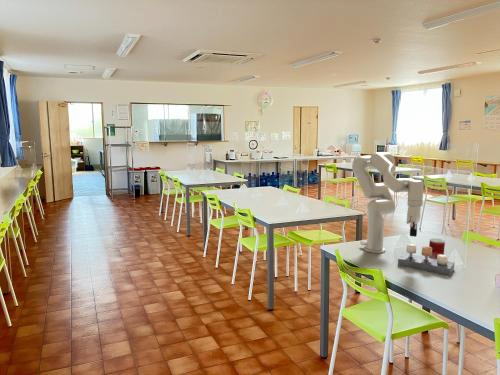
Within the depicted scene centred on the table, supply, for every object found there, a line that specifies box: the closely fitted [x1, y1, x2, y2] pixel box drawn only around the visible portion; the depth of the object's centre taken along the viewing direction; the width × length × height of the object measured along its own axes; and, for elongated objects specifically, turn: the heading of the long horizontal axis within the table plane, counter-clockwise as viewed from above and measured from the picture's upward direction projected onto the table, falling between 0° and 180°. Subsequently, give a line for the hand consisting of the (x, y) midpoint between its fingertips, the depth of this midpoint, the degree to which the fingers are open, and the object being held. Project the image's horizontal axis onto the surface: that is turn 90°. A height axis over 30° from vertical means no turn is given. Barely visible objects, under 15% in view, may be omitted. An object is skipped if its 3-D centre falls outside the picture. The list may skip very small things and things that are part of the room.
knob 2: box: [437, 254, 449, 265], centre depth 218 cm, size 5×5×8 cm
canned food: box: [428, 238, 446, 259], centre depth 238 cm, size 8×8×11 cm
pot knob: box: [421, 245, 432, 261], centre depth 223 cm, size 5×5×8 cm
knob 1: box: [406, 243, 418, 258], centre depth 227 cm, size 5×5×8 cm
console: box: [397, 252, 455, 277], centre depth 224 cm, size 26×12×4 cm, turn 54°
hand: (413, 235), depth 225 cm, fingers closed
